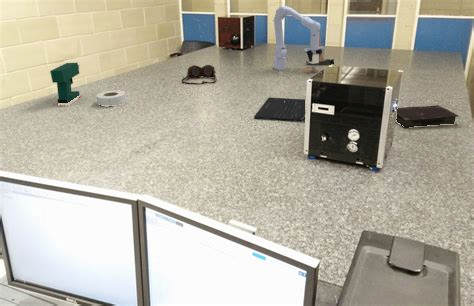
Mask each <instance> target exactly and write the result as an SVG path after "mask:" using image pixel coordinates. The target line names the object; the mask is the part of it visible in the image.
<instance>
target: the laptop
mask: <svg viewBox="0 0 474 306" xmlns="http://www.w3.org/2000/svg"><path fill="white" fill-rule="evenodd" d="M305 99H306V98H304V99H303V98H286V97H268V98H267V99H266V101H265V102H264V103H263V104H262V106H261V107H260V108H259V109H258V111H257V112H256V113H255V115H254V117H253V118H254V119H257V120H271V121H287V122H295V121H297V122H298V121H300V122H303V121H305V120H306V119H305V114H306V112H305Z"/></svg>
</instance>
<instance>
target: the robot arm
mask: <svg viewBox="0 0 474 306" xmlns="http://www.w3.org/2000/svg"><path fill="white" fill-rule="evenodd" d="M288 16H291V17H292V18H295V19H296V20H298V21H300V22H301V25H303V26H304V27H306V28H308V29H309V30H310V44H309V45H310V47H306V48H304V52H305V53H306V54H307V58H308V62H312V55H313V53H314V51H315V53H316V54H319V57H320V55H321V53H322V54H323V51H324V50H325V46H323V45H321V47H319V32H320V30H321V27H322V25H321V23H320V22H319V21H316V20H313V19H311V18H310V16H308V15H306V16H305V15H302V14H300V12H298V11H296V10H295V9H294V8H292V7H290V6H288V5H283V6H279V7H278V8H277V9H276V10H275V14H274V17H273V24H274V25H273V26H274V36H275V37H274V38H275V44H276V45H275V47H274V51H273V52H274V54H273V55H274V58H273V65H272V66H273V68H272V70H273V71H275V72H280V71H281V70H286V64H287V63H286V62H287V61H286V59H287V58H286V56H287V54H288V50H287V47H286V45H285V42H284V31H283V20H284V18H285V17H288Z"/></svg>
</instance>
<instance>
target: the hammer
mask: <svg viewBox="0 0 474 306" xmlns="http://www.w3.org/2000/svg"><path fill="white" fill-rule="evenodd" d="M321 42H322V41H321V33H320V31H319V47H322V43H321ZM305 63H306V64H307V66H328V65H330V66H332V65H335V59H334V58H332V59H329V58H327V59H325V58H324V56H323V52H322V53H321V55H320V57H319V63H315V64H311V63H309V61H307V60H306V61H305ZM328 67H329V66H328Z"/></svg>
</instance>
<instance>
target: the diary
mask: <svg viewBox="0 0 474 306" xmlns="http://www.w3.org/2000/svg"><path fill="white" fill-rule="evenodd" d="M397 108H398V109H397V119H396V120H397V122H398V123H400V124H401V126H402V125H403V126H404V127H403V126H402V127H401V126H400V127H401V128H403V129H410V128H409V127H414V126H427V125H440V124H454V123H455V122H456V118H457V117H460V115H458V114H456V113H455V112H453V111H452V110H449V109H447V108H445V107H443V106H440V105H438V104H437V105H424V106H422V105H420V106H405V107H397ZM455 124H456V123H455Z"/></svg>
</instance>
